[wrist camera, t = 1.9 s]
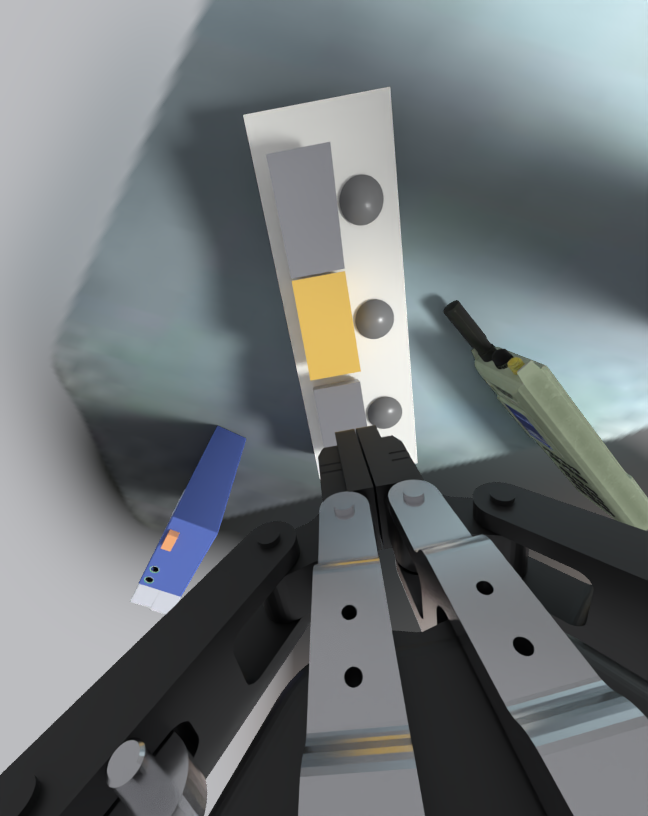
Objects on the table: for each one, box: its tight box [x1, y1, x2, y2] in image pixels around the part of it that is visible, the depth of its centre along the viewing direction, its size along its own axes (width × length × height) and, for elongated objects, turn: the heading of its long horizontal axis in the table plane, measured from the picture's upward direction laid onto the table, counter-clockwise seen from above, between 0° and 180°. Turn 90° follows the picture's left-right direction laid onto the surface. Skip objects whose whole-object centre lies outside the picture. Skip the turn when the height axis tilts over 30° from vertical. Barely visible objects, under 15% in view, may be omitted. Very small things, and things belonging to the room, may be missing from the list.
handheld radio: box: [443, 300, 648, 531], centre depth 29 cm, size 7×3×25 cm
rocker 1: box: [292, 271, 361, 381], centre depth 22 cm, size 3×6×2 cm, turn 10°
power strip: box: [243, 87, 417, 477], centre depth 25 cm, size 8×24×4 cm, turn 10°
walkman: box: [130, 426, 246, 614], centre depth 26 cm, size 8×3×12 cm, turn 150°
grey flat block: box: [266, 142, 345, 279], centre depth 19 cm, size 3×6×2 cm, turn 10°
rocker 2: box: [313, 379, 367, 448], centre depth 25 cm, size 3×6×2 cm, turn 10°
